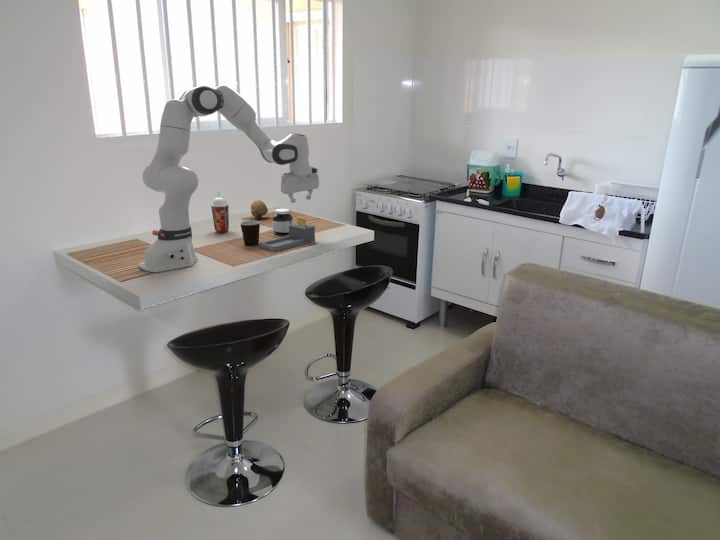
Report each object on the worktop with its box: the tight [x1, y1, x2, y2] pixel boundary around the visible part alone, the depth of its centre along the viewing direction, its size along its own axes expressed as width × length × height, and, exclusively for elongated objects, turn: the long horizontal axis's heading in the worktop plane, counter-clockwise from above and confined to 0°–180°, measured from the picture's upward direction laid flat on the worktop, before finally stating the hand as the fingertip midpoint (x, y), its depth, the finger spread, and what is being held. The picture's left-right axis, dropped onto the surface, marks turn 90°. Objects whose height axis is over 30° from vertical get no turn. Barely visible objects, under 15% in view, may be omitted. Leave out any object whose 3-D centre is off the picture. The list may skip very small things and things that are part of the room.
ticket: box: [296, 216, 307, 227], centre depth 248 cm, size 1×5×9 cm, turn 48°
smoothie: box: [210, 191, 230, 234], centre depth 262 cm, size 8×8×20 cm
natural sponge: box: [250, 199, 269, 219], centre depth 292 cm, size 9×9×10 cm
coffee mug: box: [240, 220, 261, 247], centre depth 243 cm, size 12×9×10 cm
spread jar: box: [272, 208, 294, 236], centre depth 262 cm, size 12×11×12 cm
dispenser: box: [259, 223, 316, 253], centre depth 242 cm, size 24×10×8 cm, turn 138°
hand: (300, 201), depth 244 cm, fingers open, 8 cm apart
